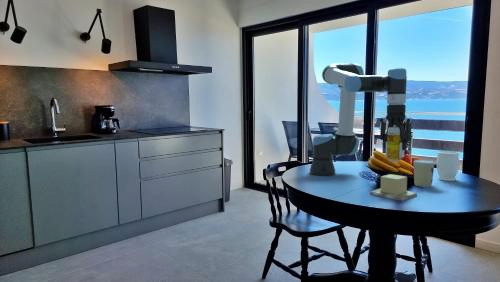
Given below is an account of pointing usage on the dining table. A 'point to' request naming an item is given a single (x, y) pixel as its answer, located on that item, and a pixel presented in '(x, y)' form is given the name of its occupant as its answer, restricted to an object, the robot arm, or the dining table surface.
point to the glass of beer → (393, 144)
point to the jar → (447, 165)
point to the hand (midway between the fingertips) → (394, 156)
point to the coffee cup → (423, 173)
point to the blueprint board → (392, 196)
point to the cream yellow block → (393, 184)
